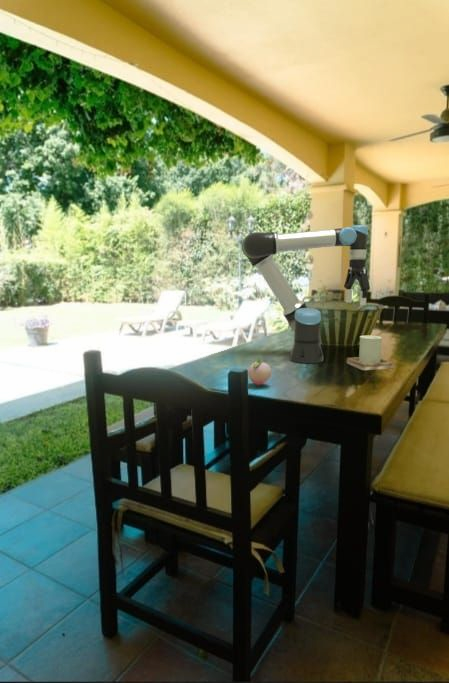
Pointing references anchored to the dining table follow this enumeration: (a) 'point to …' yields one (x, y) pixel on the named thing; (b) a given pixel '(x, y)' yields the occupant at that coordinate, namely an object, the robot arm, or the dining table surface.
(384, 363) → the coaster board
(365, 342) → the can
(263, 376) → the decorative fruit
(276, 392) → the dining table surface
